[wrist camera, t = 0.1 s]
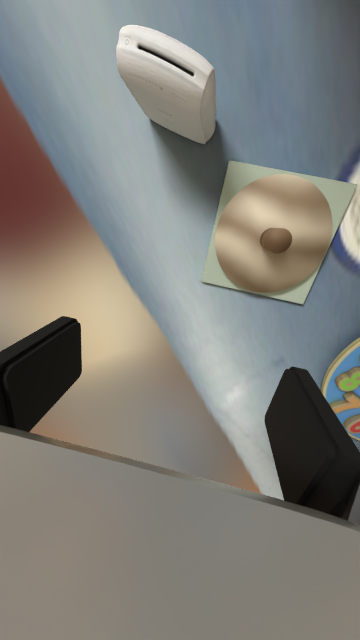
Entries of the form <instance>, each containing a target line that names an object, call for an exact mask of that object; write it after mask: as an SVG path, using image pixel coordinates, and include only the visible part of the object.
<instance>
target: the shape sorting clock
mask: <svg viewBox="0 0 360 640" xmlns="http://www.w3.org/2000/svg"><path fill="white" fill-rule="evenodd" d="M321 392H322V394H323V396H324V397H325V399H326V400H327V402H328V403H329V405H330V406H331V408H332V410H333V411H334V413H335V414H336V416H337V417H338V419H339V421H340V422H341V424H342V425H343V427H344V428H345V430H346V431H347V433H348V435H349V436H351V437H352V438H354V439H357V440H359V441H360V337H359V338H358V339H356V340H355V341H353V342H352V343H351V344H350V345H348V346H347V347H346V348H345V349H344V350H343V351H342V352H341V353H340V354H339V355H338V356H337V357H336V358H335V359H334V361H333V362H332V363H331V365H330V366H329V368H328V370H327V372H326V374H325V376H324V379H323V382H322V387H321Z"/></svg>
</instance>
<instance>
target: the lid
mask: <svg viewBox="0 0 360 640" xmlns="http://www.w3.org/2000/svg"><path fill="white" fill-rule="evenodd" d="M332 228H333V224H332V214H331V209H330V206H329V203H328V202H327V200H326V198H325V196H324V195H323V193H322V192H321V191H320V190H319V189H318V188H317V187H316V186H315V185H314V184H313V183H311V182H310V181H308V180H306V179H304V178H302V177H299V176H295V175H289V174H275V175H270V176H266V177H263V178H260V179H257V180H255V181H253V182H251V183H250V184H248V185H247V186H245V187H244V188H242V189H241V190H240V191H239V192H238V193H237V194H236V195H235V196H234V197H233V198H232V199H231V200H230V201H229V203H228V204H227V205H226V207H225V209H224V211H223V212H222V214H221V217H220V219H219V222H218V225H217V228H216V234H215V250H216V255H217V259H218V262H219V264H220V266H221V268H222V270H223V271H224V273H225V274H226V275H227V277H228V278H229V279H230V280H231V281H233V282H234V283H235V284H237V285H238V286H240V287H242V288H244V289H246V290H250V291H253V292H260V293H269V292H277V291H281V290H284V289H287V288H289V287H292V286H294V285H296V284H297V283H299V282H301V281H302V280H303V279H305V278H306V277H307V276H308V275H309V274H311V273H312V272H313V271H314V269H315V268H316V267H317V266H318V265H319V263H320V262H321V260H322V259H323V257H324V255H325V253H326V251H327V249H328V246H329V244H330V240H331V236H332Z"/></svg>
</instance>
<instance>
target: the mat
mask: <svg viewBox="0 0 360 640" xmlns="http://www.w3.org/2000/svg"><path fill="white" fill-rule="evenodd" d="M275 174H289V175H295V176H299V177H302V178H304V179H306V180H308V181H310V182H311V183H313V184H314V185H315V186H316V187H317V188H318V189H319V190H320V191H321V192H322V193H323V195H324V196H325V198H326V200H327V202H328V203H329V206H330V209H331V214H332V224H333V228H332V236H331V240H330V244H331V242H332V239H333V237H334V235H335V233H336V230H337V228H338V226H339V224H340V222H341V219H342V217H343V215H344V213H345V211H346V208H347V206H348V204H349V202H350V199H351V197H352V195H353V193H354V191H355V188H356V186H357V184H352V183H346V182H341V181H336V180H330V179H325V178H320V177H315V176H309V175H304V174H299V173H293V172H288V171H283V170H278V169H272V168H267V167H262V166H256V165H251V164H246V163H240V162H235V161H230V160H229V163H228V168H227V172H226V176H225V180H224V185H223V189H222V193H221V197H220V202H219V206H218V210H217V215H216V219H215V223H214V227H213V232H212V236H211V240H210V244H209V249H208V253H207V257H206V262H205V266H204V270H203V274H202V279H201V281H202V282H206V283H211V284H215V285H219V286H224V287H228V288H233V289H237V290H242V291H246V292H250V293H255V294H259V295H264V296H268V297H272V298H277V299H281V300H286V301H290V302H295V303H299V304H304V301H305V299H306V297H307V295H308V292H309V290H310V288H311V286H312V284H313V281H314V279H315V277H316V275H317V273H318V270H319V268H320V266H321V264H322V261H323V259H324V257H325V255H326V253H327V251H326V253H325V255H324V257H323V259H322V260H321V262H320V263H319V265H318V266H317V267H316V268H315V269H314V271H313V272H312V273H311V274H309V275H308V276H307V277H306V278H305V279H303V280H302V281H301V282H299V283H297V284H296V285H294V286H292V287H289V288H287V289H284V290H281V291H277V292H269V293H260V292H253V291H250V290H246V289H244V288H242V287H240V286H238V285H237V284H235V283H234V282H233V281H231V280H230V279H229V278H228V277H227V275H226V274H225V273H224V271H223V270H222V268H221V266H220V264H219V262H218V259H217V255H216V250H215V234H216V228H217V225H218V222H219V219H220V217H221V214H222V212H223V211H224V209H225V207H226V205H227V204H228V203H229V201H230V200H231V199H232V198H233V197H234V196H235V195H236V194H237V193H238V192H239V191H240V190H241V189H242V188H244V187H245V186H247V185H248V184H250V183H251V182H253V181H255V180H257V179H260V178H263V177H266V176H270V175H275ZM330 244H329V246H330ZM329 246H328V248H329ZM327 250H328V249H327Z"/></svg>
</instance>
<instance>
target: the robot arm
mask: <svg viewBox="0 0 360 640" xmlns="http://www.w3.org/2000/svg"><path fill="white" fill-rule="evenodd" d="M81 371H82V361H81V326H80V323H78V321H77V320H76V319H74V318H70V317H65V316H63V317H60V318H58V319H57V320H55V321H53V322H51V323H50V324H48V325H46V326H44V327H43V328H41V329H39V330H37V331H36V332H34V333H32V334H31V335H29V336H27V337H25V338H23V339H22V340H20V341H18V342H16V343H15V344H13V345H11V346H9V347H8V348H6V349H4V350H2V351H1V352H0V640H360V452H359V450H358V449H357V447H356V446H355V444H354V442H353V441H352V439H351V438H350V436H349V435H348V433H347V431H346V430H345V428H344V427H343V425H342V424H341V422H340V421H339V419H338V417H337V416H336V414H335V413H334V411H333V410H332V408H331V406H330V405H329V403H328V402H327V400H326V399H325V397H324V396H323V394H322V392H321V391H320V389H319V388H318V386H317V385H316V383H315V381H314V380H313V378H312V377H311V375H310V374H309V372H308V371H307V370H305V369H301V368H296V367H291V368H290V369H286V370H285V371H284V373H283V375H282V378H281V380H280V382H279V385H278V387H277V389H276V391H275V394H274V396H273V398H272V401H271V403H270V405H269V407H268V410H267V412H266V415H265V425H266V429H267V433H268V437H269V441H270V445H271V449H272V453H273V457H274V461H275V465H276V469H277V473H278V477H279V481H280V485H281V489H282V493H283V497H284V501H283V500H280V499H276V498H273V497H270V496H266V495H263V494H259V493H255V492H251V491H248V490H244V489H240V488H236V487H233V486H229V485H226V484H222V483H218V482H215V481H211V480H207V479H204V478H200V477H196V476H193V475H189V474H185V473H182V472H178V471H174V470H170V469H166V468H163V467H159V466H155V465H151V464H148V463H144V462H140V461H137V460H133V459H129V458H125V457H122V456H118V455H114V454H110V453H107V452H103V451H99V450H95V449H91V448H88V447H83V446H80V445H76V444H72V443H68V442H64V441H61V440H57V439H53V438H49V437H45V436H41V435H37V434H33V433H30V430H31V429H32V428H33V427H34V426H35V425H36V424H37V423H38V422H39V421H40V419H41V418H42V417H43V416H44V415H45V414H46V413H47V412H48V411H49V410H50V409H51V407H52V406H53V405H54V404H55V403H56V402H57V401H58V400H59V399H60V398H61V397H62V396H63V394H64V393H65V392H66V391H67V390H68V389H69V388H70V387H71V386H72V385H73V384H74V382H75V381H76V380H77V379H78V378H79V377H80V375H81Z"/></svg>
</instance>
